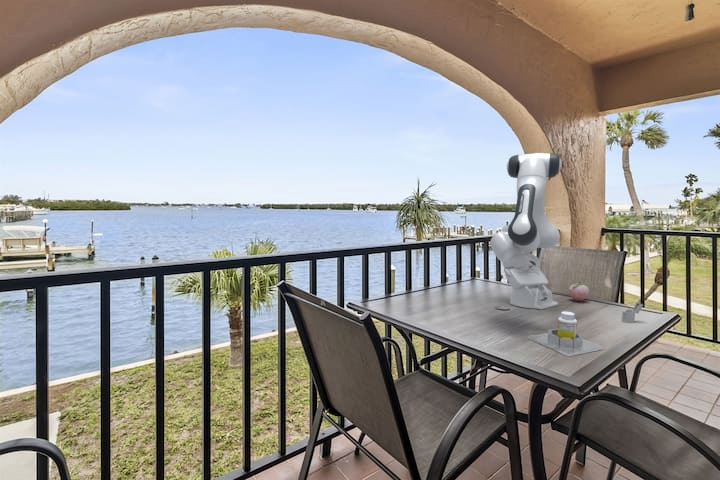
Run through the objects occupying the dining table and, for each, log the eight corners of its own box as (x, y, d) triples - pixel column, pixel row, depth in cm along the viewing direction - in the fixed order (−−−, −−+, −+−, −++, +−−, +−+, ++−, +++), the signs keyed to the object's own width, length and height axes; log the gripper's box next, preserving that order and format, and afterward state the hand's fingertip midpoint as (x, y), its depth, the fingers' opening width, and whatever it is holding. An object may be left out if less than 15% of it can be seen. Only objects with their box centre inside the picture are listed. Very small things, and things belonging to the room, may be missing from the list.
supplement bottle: (564, 337, 124) (565, 309, 123) (579, 343, 119) (581, 314, 118) (553, 340, 122) (555, 311, 121) (568, 346, 117) (570, 316, 116)
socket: (560, 333, 132) (561, 322, 131) (603, 349, 117) (604, 337, 116) (528, 338, 126) (528, 327, 126) (568, 356, 111) (569, 344, 111)
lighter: (624, 322, 144) (626, 303, 143) (621, 321, 145) (622, 302, 145) (641, 322, 144) (643, 303, 143) (638, 321, 146) (639, 302, 145)
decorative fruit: (574, 298, 181) (575, 279, 180) (591, 301, 174) (592, 282, 173) (564, 300, 176) (565, 281, 175) (581, 304, 169) (582, 284, 168)
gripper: (507, 261, 130) (530, 293, 122) (538, 262, 142) (560, 291, 134) (496, 271, 134) (517, 302, 126) (526, 271, 145) (547, 300, 138)
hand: (539, 296), depth 130 cm, fingers open, 8 cm apart
